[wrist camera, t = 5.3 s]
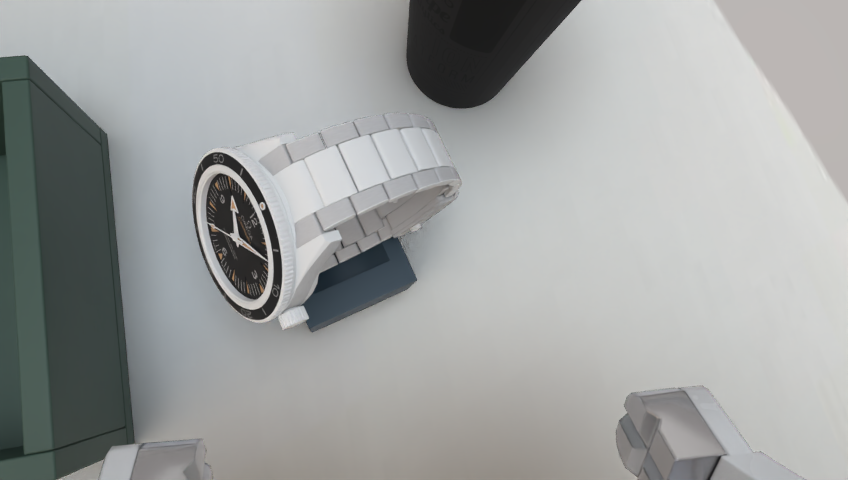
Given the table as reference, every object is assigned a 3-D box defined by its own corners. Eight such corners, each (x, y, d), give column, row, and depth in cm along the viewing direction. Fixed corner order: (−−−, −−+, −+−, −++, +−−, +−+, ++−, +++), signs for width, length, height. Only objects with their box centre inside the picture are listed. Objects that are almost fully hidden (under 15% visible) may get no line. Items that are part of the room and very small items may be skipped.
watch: (214, 230, 25) (125, 135, 15) (391, 158, 27) (428, 26, 16) (267, 355, 25) (216, 352, 14) (445, 274, 26) (521, 215, 16)
